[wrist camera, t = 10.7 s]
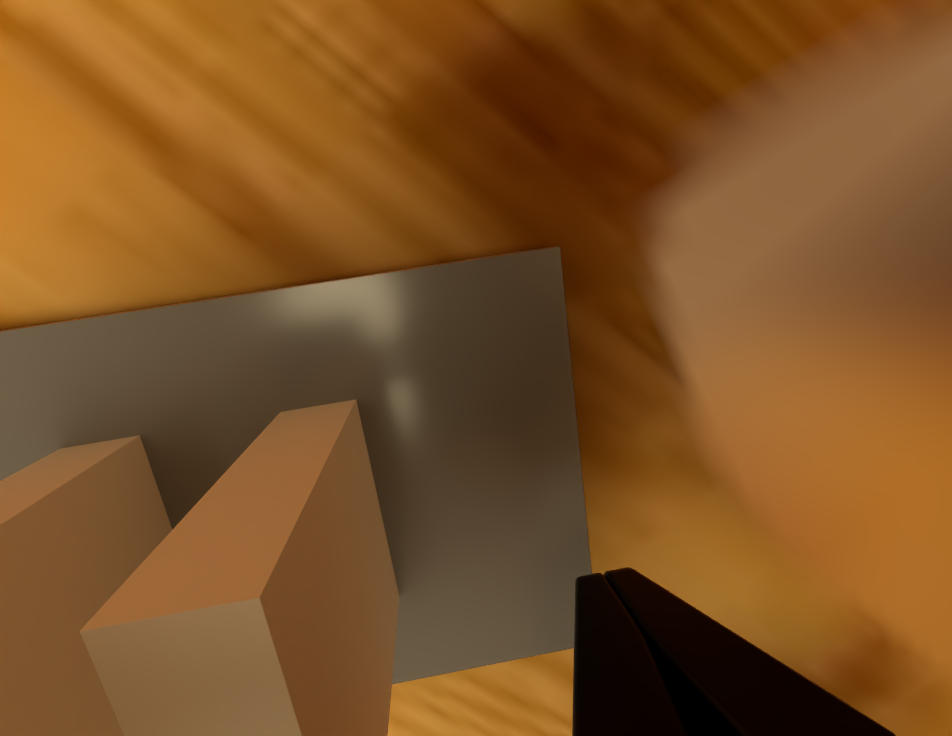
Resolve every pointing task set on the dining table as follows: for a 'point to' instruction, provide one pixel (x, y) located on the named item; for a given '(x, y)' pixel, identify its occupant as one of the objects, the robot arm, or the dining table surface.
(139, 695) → the domino
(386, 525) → the metal plate
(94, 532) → the domino
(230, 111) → the dining table surface
